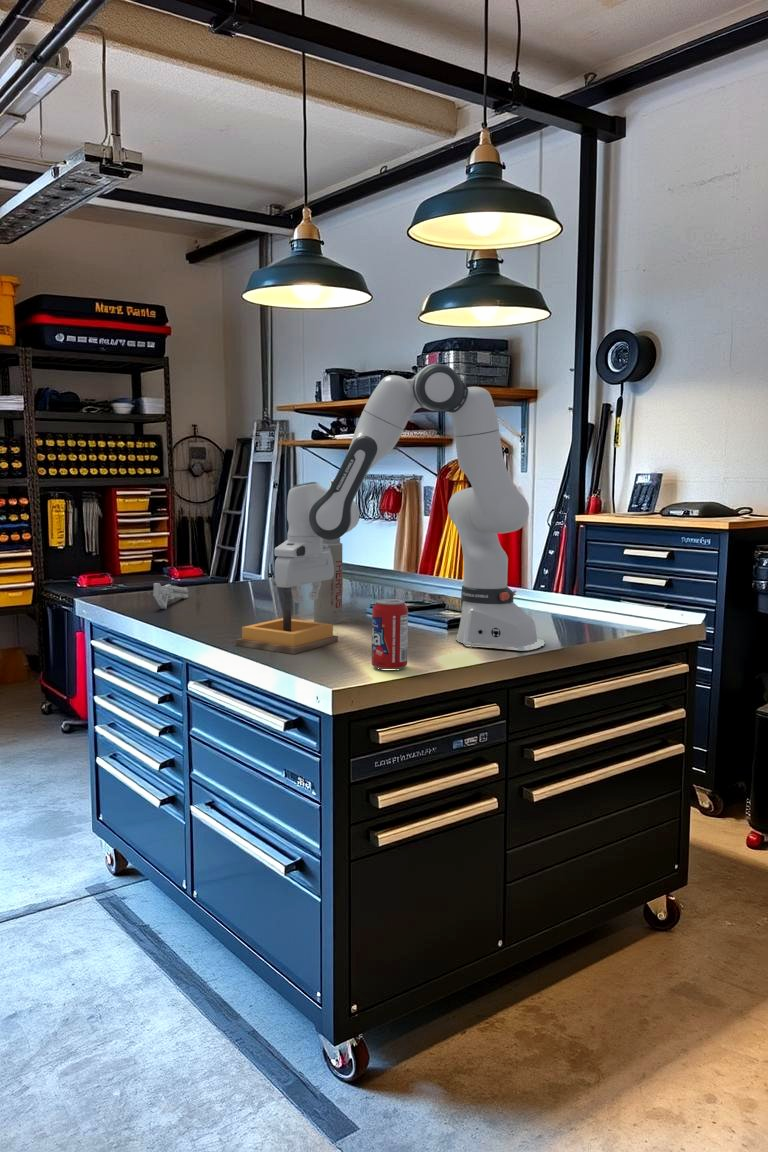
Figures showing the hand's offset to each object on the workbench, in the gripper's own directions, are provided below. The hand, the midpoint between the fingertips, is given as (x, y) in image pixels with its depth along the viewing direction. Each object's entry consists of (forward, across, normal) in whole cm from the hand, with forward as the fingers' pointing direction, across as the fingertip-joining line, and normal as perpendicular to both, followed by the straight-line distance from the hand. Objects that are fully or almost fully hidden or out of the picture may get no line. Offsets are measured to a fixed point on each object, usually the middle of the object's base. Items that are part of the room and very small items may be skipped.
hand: (306, 600), depth 226 cm
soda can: (+10, +15, +35) cm, 40 cm away
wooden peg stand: (+10, +8, 0) cm, 12 cm away
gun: (+10, -19, -68) cm, 72 cm away
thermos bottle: (+10, -23, -10) cm, 27 cm away
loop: (+8, +7, 0) cm, 11 cm away
